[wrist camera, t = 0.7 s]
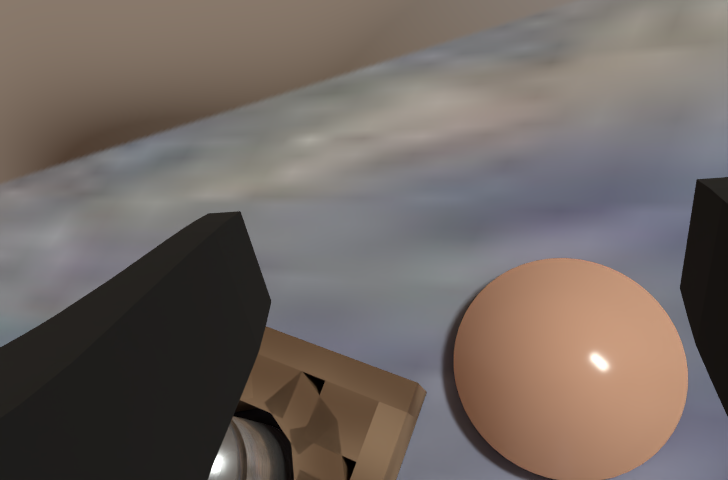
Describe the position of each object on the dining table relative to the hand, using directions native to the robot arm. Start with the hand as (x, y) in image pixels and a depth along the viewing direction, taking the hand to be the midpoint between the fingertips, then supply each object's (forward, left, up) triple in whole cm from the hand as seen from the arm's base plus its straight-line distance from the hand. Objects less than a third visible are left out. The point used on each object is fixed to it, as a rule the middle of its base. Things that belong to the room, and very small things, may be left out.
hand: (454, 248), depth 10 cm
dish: (+2, -2, -17) cm, 17 cm away
